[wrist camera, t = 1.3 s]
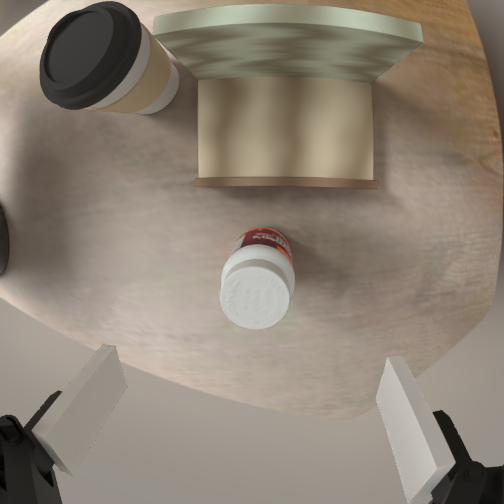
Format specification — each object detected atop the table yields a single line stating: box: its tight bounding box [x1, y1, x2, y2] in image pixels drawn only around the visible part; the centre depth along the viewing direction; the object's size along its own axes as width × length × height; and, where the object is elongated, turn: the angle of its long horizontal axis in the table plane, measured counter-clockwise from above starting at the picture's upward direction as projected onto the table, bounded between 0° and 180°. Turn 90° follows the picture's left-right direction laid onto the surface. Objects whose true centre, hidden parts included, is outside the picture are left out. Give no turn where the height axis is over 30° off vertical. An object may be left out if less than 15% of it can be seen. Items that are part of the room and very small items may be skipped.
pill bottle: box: [220, 227, 295, 330], centre depth 27 cm, size 6×6×11 cm
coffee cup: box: [40, 1, 180, 114], centre depth 20 cm, size 9×9×15 cm
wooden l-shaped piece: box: [153, 4, 424, 190], centre depth 21 cm, size 17×12×14 cm
